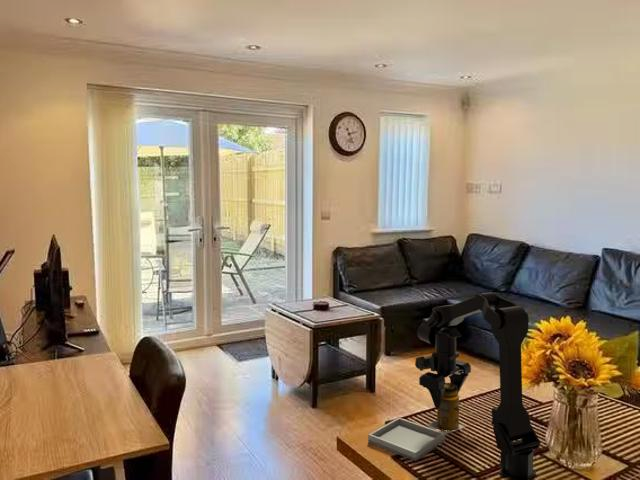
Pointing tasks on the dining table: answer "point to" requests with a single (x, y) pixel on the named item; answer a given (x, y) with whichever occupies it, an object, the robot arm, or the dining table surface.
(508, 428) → the robot arm
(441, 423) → the condiment
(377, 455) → the dining table surface
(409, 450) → the tray
